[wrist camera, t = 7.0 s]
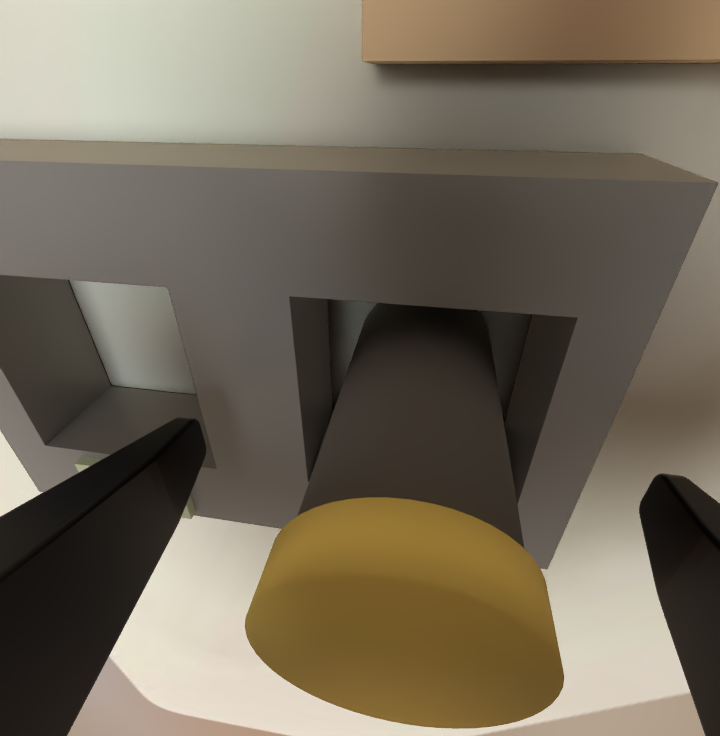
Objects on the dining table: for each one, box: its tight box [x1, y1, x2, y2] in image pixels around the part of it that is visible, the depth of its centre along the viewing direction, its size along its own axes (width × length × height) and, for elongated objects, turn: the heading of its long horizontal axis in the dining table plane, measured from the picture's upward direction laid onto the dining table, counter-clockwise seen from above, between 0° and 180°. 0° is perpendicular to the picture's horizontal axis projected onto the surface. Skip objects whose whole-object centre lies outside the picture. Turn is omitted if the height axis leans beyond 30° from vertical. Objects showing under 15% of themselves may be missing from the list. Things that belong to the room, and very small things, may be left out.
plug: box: [245, 303, 564, 728], centre depth 9 cm, size 4×4×8 cm
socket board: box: [0, 139, 718, 569], centre depth 11 cm, size 16×10×3 cm, turn 90°
